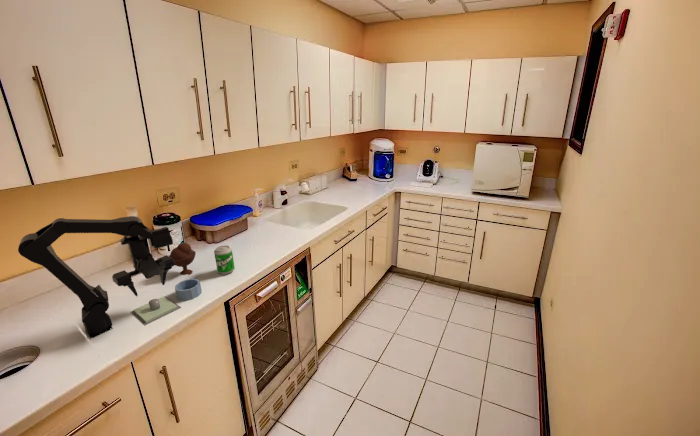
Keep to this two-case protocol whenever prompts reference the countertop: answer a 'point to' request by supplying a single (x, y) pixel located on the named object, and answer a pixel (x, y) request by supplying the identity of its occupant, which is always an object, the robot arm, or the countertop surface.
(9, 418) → the countertop surface
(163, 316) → the rubber mat
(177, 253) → the ice cream bowl
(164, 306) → the cover
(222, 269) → the soda can
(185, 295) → the bowl
